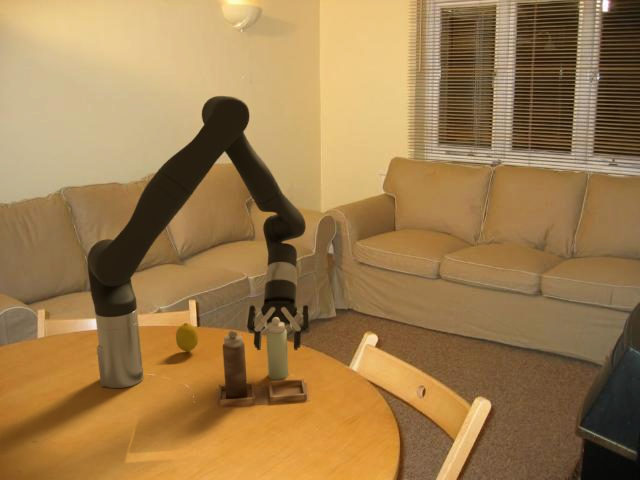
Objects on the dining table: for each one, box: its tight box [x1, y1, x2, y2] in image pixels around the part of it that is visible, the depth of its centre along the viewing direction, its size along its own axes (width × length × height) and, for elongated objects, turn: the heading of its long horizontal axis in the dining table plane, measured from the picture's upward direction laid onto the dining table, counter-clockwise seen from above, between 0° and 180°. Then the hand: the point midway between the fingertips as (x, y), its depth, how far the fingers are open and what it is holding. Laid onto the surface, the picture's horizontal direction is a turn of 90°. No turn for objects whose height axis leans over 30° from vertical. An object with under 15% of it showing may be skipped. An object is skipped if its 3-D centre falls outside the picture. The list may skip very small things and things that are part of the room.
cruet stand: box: [214, 378, 311, 409], centre depth 157 cm, size 20×9×2 cm, turn 96°
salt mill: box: [265, 317, 289, 381], centre depth 165 cm, size 5×5×15 cm
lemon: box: [175, 322, 199, 353], centre depth 183 cm, size 6×6×8 cm
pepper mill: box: [222, 329, 248, 399], centre depth 155 cm, size 5×5×15 cm
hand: (277, 349), depth 165 cm, fingers open, 8 cm apart
